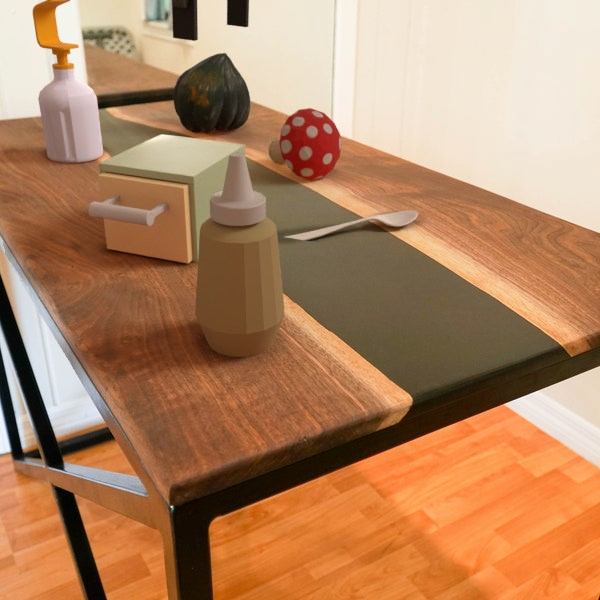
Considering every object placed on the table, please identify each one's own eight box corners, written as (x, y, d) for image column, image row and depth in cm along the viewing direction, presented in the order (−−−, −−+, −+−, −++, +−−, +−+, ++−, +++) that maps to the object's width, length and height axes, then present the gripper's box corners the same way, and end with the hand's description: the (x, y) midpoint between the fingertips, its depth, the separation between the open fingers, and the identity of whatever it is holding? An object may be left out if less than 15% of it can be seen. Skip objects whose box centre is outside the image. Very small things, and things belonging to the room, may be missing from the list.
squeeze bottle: (276, 319, 65) (277, 139, 57) (292, 364, 58) (297, 167, 50) (193, 326, 64) (182, 142, 55) (200, 374, 57) (189, 172, 48)
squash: (146, 102, 124) (190, 43, 116) (187, 92, 136) (230, 38, 128) (196, 160, 125) (244, 105, 117) (233, 144, 137) (278, 93, 129)
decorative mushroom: (258, 107, 109) (309, 89, 97) (309, 137, 115) (363, 124, 103) (237, 168, 108) (287, 158, 95) (289, 196, 114) (343, 189, 102)
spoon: (424, 227, 88) (425, 215, 87) (281, 250, 80) (281, 237, 79) (407, 216, 91) (408, 205, 90) (269, 237, 83) (269, 225, 82)
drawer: (166, 282, 70) (160, 202, 65) (81, 265, 73) (70, 188, 68) (234, 224, 84) (233, 156, 80) (161, 212, 87) (156, 146, 83)
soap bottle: (75, 167, 106) (51, 0, 94) (36, 158, 110) (8, -3, 98) (114, 154, 113) (97, -3, 101) (76, 146, 117) (55, -6, 105)
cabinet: (198, 268, 75) (193, 176, 70) (109, 251, 78) (98, 163, 73) (246, 225, 86) (245, 144, 81) (167, 212, 90) (161, 133, 85)
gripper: (185, -207, 57) (190, 50, 68) (290, -169, 78) (281, 24, 88) (112, -208, 59) (127, 41, 70) (232, -171, 80) (230, 18, 90)
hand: (213, 32), depth 79 cm, fingers open, 13 cm apart
